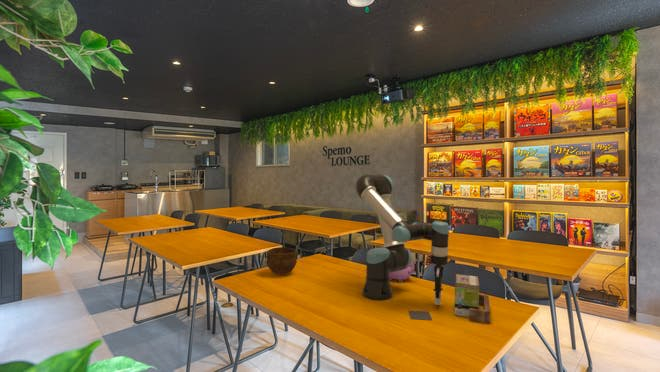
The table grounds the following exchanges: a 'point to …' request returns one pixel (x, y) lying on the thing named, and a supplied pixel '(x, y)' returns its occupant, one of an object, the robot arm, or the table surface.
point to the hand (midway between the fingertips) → (437, 304)
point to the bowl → (281, 260)
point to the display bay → (481, 311)
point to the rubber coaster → (420, 315)
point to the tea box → (466, 294)
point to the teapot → (403, 273)
